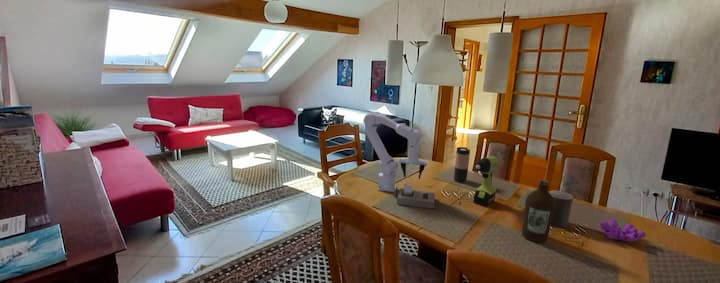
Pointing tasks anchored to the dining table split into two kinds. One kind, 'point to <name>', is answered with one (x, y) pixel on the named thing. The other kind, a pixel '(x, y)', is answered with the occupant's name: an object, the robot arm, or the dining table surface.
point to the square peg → (408, 190)
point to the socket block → (417, 198)
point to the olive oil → (538, 214)
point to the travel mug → (461, 164)
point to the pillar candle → (561, 208)
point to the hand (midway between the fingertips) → (412, 177)
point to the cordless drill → (486, 181)
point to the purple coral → (621, 231)
